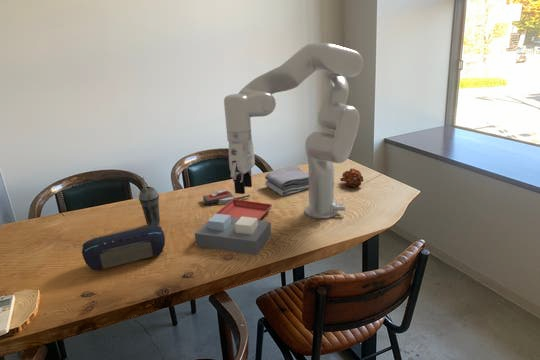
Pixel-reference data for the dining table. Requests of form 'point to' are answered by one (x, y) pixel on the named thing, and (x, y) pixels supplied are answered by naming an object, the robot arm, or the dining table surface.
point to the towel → (287, 180)
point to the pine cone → (352, 177)
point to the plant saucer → (245, 209)
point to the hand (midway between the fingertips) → (243, 189)
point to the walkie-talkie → (220, 198)
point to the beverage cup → (150, 205)
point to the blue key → (219, 222)
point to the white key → (246, 225)
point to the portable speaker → (123, 247)
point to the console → (234, 238)
